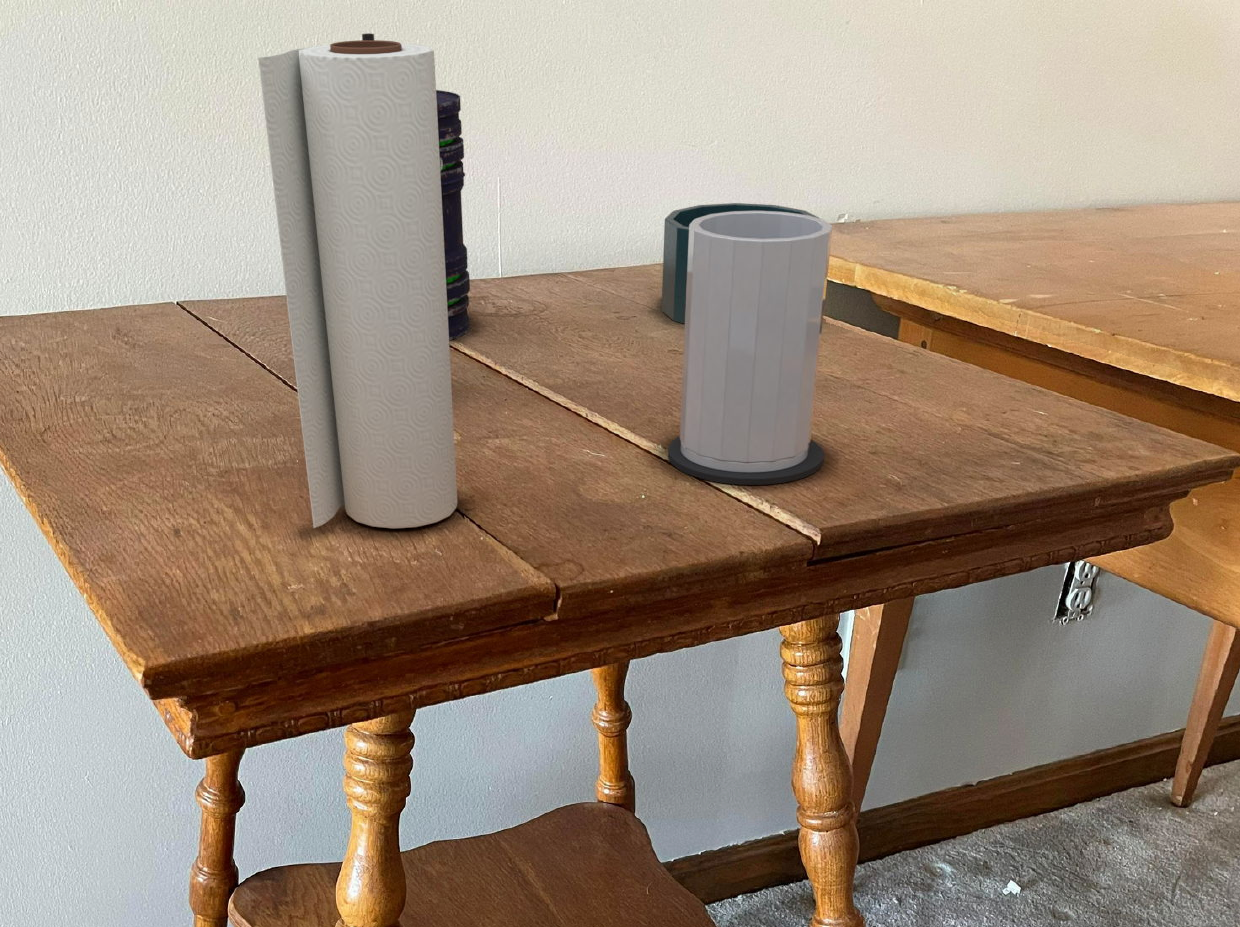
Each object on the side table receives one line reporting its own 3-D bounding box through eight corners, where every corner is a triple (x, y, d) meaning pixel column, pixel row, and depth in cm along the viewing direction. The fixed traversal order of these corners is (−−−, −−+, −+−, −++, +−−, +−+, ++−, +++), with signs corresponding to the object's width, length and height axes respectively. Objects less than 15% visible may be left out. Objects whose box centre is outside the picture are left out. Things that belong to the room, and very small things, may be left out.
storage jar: (374, 306, 108) (356, 85, 99) (491, 316, 105) (484, 91, 96) (315, 339, 100) (289, 104, 91) (439, 352, 98) (425, 111, 89)
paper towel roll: (463, 490, 76) (441, 36, 63) (451, 533, 72) (425, 51, 59) (333, 489, 77) (285, 36, 64) (313, 531, 72) (257, 51, 59)
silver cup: (815, 435, 82) (839, 214, 75) (799, 478, 77) (822, 244, 69) (693, 424, 84) (704, 207, 77) (668, 466, 78) (677, 236, 71)
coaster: (831, 438, 83) (832, 432, 83) (812, 492, 76) (813, 485, 76) (684, 426, 85) (685, 419, 85) (652, 477, 78) (653, 470, 78)
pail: (818, 297, 109) (827, 207, 105) (799, 335, 101) (808, 238, 97) (679, 288, 112) (683, 200, 108) (649, 324, 103) (652, 230, 99)
